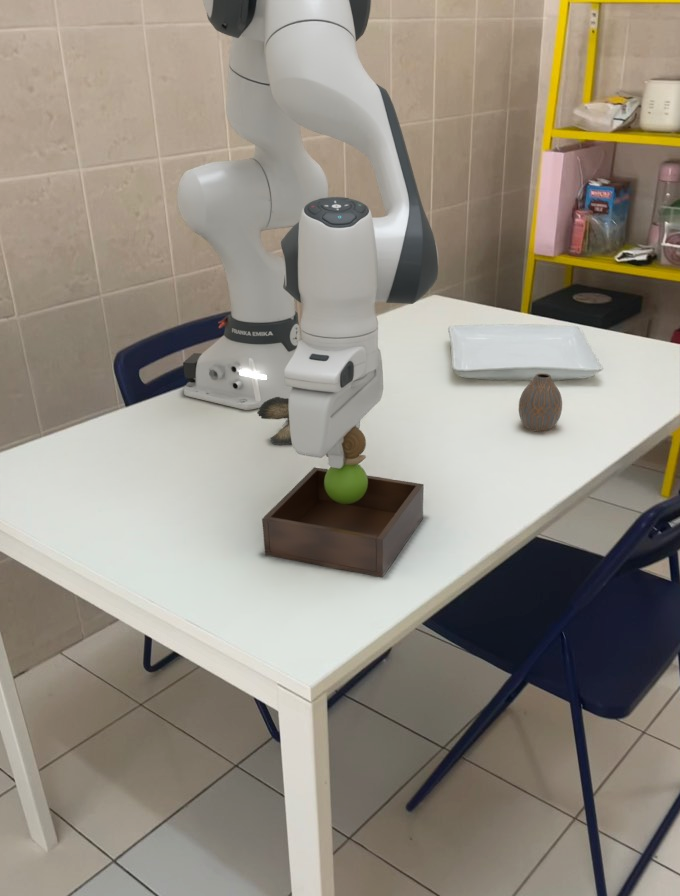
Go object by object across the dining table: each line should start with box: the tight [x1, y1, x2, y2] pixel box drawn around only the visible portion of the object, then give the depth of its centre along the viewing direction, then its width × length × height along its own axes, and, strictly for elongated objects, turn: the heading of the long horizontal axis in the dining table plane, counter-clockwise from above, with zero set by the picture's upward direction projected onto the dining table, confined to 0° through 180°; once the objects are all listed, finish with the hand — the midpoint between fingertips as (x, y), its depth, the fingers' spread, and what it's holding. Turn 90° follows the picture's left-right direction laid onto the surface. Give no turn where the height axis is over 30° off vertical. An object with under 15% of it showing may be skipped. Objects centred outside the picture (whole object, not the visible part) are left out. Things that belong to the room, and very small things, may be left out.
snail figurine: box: [324, 426, 368, 504], centre depth 107 cm, size 5×6×12 cm
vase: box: [518, 373, 563, 432], centre depth 141 cm, size 7×7×9 cm
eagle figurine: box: [257, 397, 292, 446], centre depth 140 cm, size 8×7×9 cm
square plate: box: [447, 323, 604, 381], centre depth 170 cm, size 27×27×4 cm
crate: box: [261, 466, 425, 578], centre depth 111 cm, size 16×16×5 cm
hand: (342, 460), depth 108 cm, fingers closed on snail figurine
